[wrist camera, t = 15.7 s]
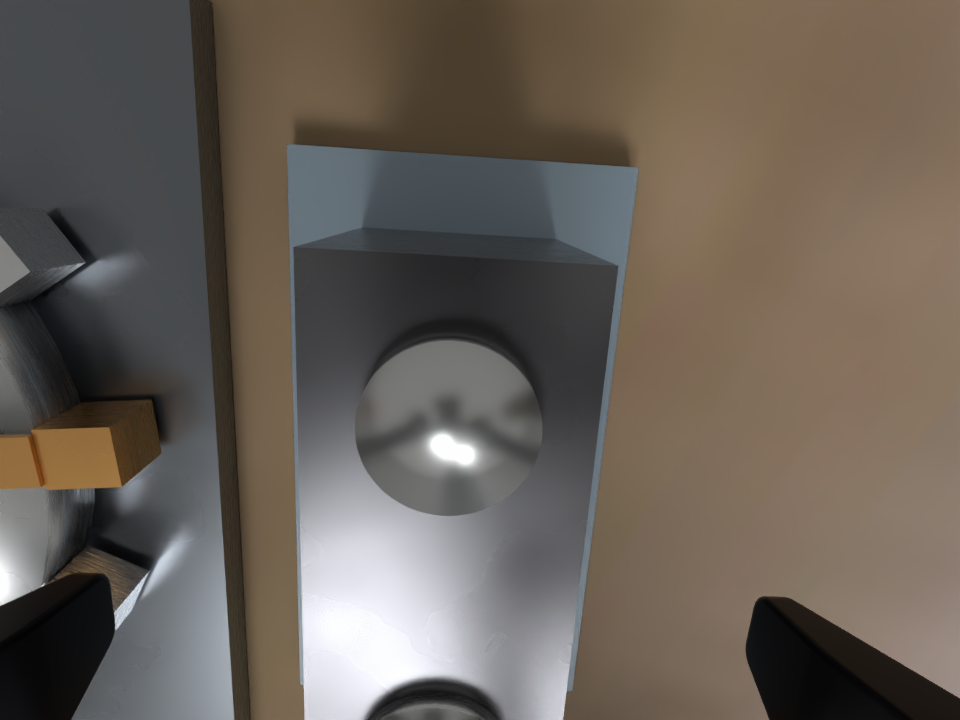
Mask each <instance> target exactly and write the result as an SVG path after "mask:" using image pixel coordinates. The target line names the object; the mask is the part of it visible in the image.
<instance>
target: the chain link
mask: <svg viewBox="0 0 960 720" xmlns="http://www.w3.org/2000/svg"><path fill="white" fill-rule="evenodd" d="M293 255H294V296H295V337H296V379H297V420H298V461H299V503H300V544H301V585H302V627H303V668H304V709H305V720H563V716H564V708H565V699H566V691H567V683H568V675H569V667H570V659H571V650H572V642H573V634H574V626H575V618H576V609H577V601H578V593H579V585H580V577H581V569H582V560H583V552H584V544H585V536H586V528H587V520H588V511H589V503H590V495H591V487H592V479H593V470H594V462H595V454H596V446H597V438H598V430H599V421H600V413H601V405H602V397H603V389H604V381H605V372H606V364H607V356H608V348H609V340H610V331H611V323H612V315H613V307H614V299H615V291H616V282H617V274H618V265H615V264H613V263H611V262H608V261H606V260H604V259H601V258H599V257H597V256H595V255H592V254H590V253H588V252H585V251H583V250H581V249H578V248H576V247H574V246H571V245H569V244H567V243H564V242H562V241H560V240H557V239H548V238H531V237H514V236H498V235H481V234H464V233H447V232H431V231H414V230H397V229H381V228H364V227H361V228H358V229H354V230H351V231H347V232H344V233H340V234H337V235H333V236H330V237H326V238H323V239H319V240H316V241H312V242H309V243H305V244H302V245H298V246H295V247H293Z"/></svg>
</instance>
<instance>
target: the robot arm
mask: <svg viewBox="0 0 960 720" xmlns="http://www.w3.org/2000/svg"><path fill="white" fill-rule="evenodd" d="M114 633H115V615H114V607H113V599H112V591H111V584H110V580H109V578H108V577H107V576H106V575H105V574H103V573H86V572H75V573H71V574H68V575H66V576H64V577H62V578H60V579H58V580H55V581H53V582H51V583H49V584H47V585H45V586H42V587H40V588H38V589H36V590H34V591H31V592H29V593H27V594H25V595H23V596H21V597H18V598H16V599H14V600H12V601H10V602H8V603H5V604H3V605H1V606H0V720H72V718H73V716H74V714H75V712H76V710H77V708H78V706H79V705H80V703H81V701H82V699H83V697H84V695H85V693H86V691H87V689H88V687H89V685H90V683H91V682H92V680H93V678H94V676H95V674H96V672H97V670H98V668H99V666H100V664H101V662H102V660H103V659H104V657H105V655H106V653H107V651H108V649H109V647H110V645H111V643H112V640H113V637H114ZM746 657H747V661H748V664H749V667H750V670H751V672H752V675H753V678H754V680H755V683H756V686H757V688H758V691H759V694H760V696H761V699H762V701H763V704H764V707H765V709H766V712H767V715H768V717H769V720H960V698H958V697H957V696H955V695H953V694H951V693H950V692H948V691H946V690H945V689H943V688H941V687H940V686H938V685H936V684H935V683H933V682H931V681H929V680H928V679H926V678H924V677H923V676H921V675H919V674H918V673H916V672H914V671H913V670H911V669H909V668H907V667H906V666H904V665H902V664H901V663H899V662H897V661H896V660H894V659H892V658H891V657H889V656H887V655H885V654H884V653H882V652H880V651H879V650H877V649H875V648H874V647H872V646H870V645H869V644H867V643H865V642H863V641H862V640H860V639H858V638H857V637H855V636H853V635H852V634H850V633H848V632H847V631H845V630H843V629H841V628H840V627H838V626H836V625H835V624H833V623H831V622H830V621H828V620H826V619H825V618H823V617H821V616H819V615H818V614H816V613H814V612H813V611H811V610H809V609H808V608H806V607H804V606H803V605H801V604H799V603H797V602H796V601H794V600H792V599H790V598H787V597H768V596H763V597H760V598H759V599H757V601H756V602H755V605H754V609H753V614H752V618H751V623H750V627H749V632H748V636H747V641H746Z"/></svg>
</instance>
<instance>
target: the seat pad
mask: <svg viewBox="0 0 960 720" xmlns="http://www.w3.org/2000/svg"><path fill="white" fill-rule="evenodd" d="M287 170H288V211H289V251H290V292H291V332H292V373H293V414H294V454H295V495H296V535H297V576H298V616H299V657H300V685H304V668H303V627H302V585H301V544H300V503H299V461H298V420H297V379H296V337H295V296H294V255H293V247H295V246H298V245H302V244H305V243H309V242H312V241H316V240H319V239H323V238H326V237H330V236H333V235H337V234H340V233H344V232H347V231H351V230H354V229H358V228H361V227H364V228H381V229H397V230H414V231H431V232H447V233H464V234H481V235H498V236H514V237H531V238H548V239H557V240H560V241H562V242H564V243H567V244H569V245H571V246H574V247H576V248H578V249H581V250H583V251H585V252H588V253H590V254H592V255H595V256H597V257H599V258H601V259H604V260H606V261H608V262H611V263H613V264H615V265H618V274H617V282H616V291H615V299H614V307H613V315H612V323H611V331H610V340H609V348H608V356H607V364H606V372H605V381H604V389H603V397H602V405H601V413H600V421H599V430H598V438H597V446H596V454H595V462H594V470H593V479H592V487H591V495H590V503H589V511H588V520H587V528H586V536H585V544H584V552H583V560H582V569H581V577H580V585H579V593H578V601H577V609H576V618H575V626H574V634H573V642H572V650H571V659H570V667H569V675H568V683H567V691H566V692H572V689H573V681H574V673H575V666H576V658H577V650H578V642H579V634H580V626H581V618H582V611H583V603H584V595H585V587H586V579H587V571H588V563H589V555H590V548H591V540H592V532H593V524H594V516H595V508H596V500H597V493H598V485H599V477H600V469H601V461H602V453H603V445H604V437H605V430H606V422H607V414H608V406H609V398H610V390H611V382H612V375H613V367H614V359H615V351H616V343H617V335H618V327H619V319H620V312H621V304H622V296H623V288H624V280H625V272H626V264H627V257H628V249H629V241H630V233H631V225H632V217H633V209H634V201H635V194H636V186H637V178H638V170H639V168H637V167H622V166H607V165H593V164H578V163H563V162H548V161H533V160H518V159H503V158H488V157H473V156H458V155H443V154H428V153H414V152H399V151H384V150H369V149H354V148H339V147H324V146H309V145H294V144H287Z"/></svg>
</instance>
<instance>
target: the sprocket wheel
mask: <svg viewBox="0 0 960 720" xmlns="http://www.w3.org/2000/svg"><path fill="white" fill-rule="evenodd" d="M84 263H86V262H85V261H84V259H83V258H82V257H81V256H80V254H79V253H78V252H77V251H76V249H75V248H74V247H73V246H72V244H71V243H70V242H69V241H68V239H67V238H66V237H65V236H64V234H63V233H62V232H61V231H60V229H59V228H58V227H57V226H56V225H55V223H54V222H53V221H52V220H51V218H50V217H49V216H48V215H47V213H46V212H45V211H44V210H43V208H4V209H0V606H1V605H3V604H5V603H8V602H10V601H12V600H14V599H16V598H18V597H21V596H23V595H25V594H27V593H29V592H31V591H34V590H36V589H38V588H40V587H42V586H45V585H47V584H49V583H51V582H53V581H55V580H58V579H60V578H62V577H64V576H66V575H68V574H71V573H75V572H86V573H103V574H105V575H106V576H107V577H108V578H109V580H110V584H111V591H112V599H113V607H114V615H115V631H116V629H117V628H118V627H119V626H120V624H121V623H122V622H123V621H124V619H125V618H126V617H127V616H128V614H129V613H130V612H131V610H132V608H133V606H134V604H135V602H136V599H137V597H138V595H139V593H140V591H141V588H142V586H143V584H144V582H145V580H146V577H147V575H148V573H149V570H146V569H144V568H142V567H139V566H137V565H134V564H132V563H129V562H127V561H125V560H122V559H120V558H117V557H115V556H112V555H110V554H108V553H105V552H103V551H100V550H98V549H95V548H93V547H91V546H87V547H86V545H87V542H88V539H89V536H90V529H91V523H92V516H93V510H94V503H95V488H112V487H123V486H124V485H125V484H126V483H127V482H129V481H130V480H131V479H132V478H133V477H134V476H136V475H137V474H138V473H139V472H140V471H142V470H143V469H144V468H145V467H146V466H147V465H149V464H150V463H151V462H152V461H153V460H155V459H156V458H157V457H158V456H159V455H160V454H162V452H161V446H160V441H159V436H158V431H157V425H156V420H155V415H154V409H153V404H152V400H130V401H102V402H82V403H81V401H80V397H79V394H78V391H77V388H76V386H75V384H74V381H73V379H72V377H71V375H70V372H69V370H68V368H67V365H66V363H65V361H64V359H63V356H62V354H61V352H60V350H59V348H58V347H57V345H56V343H55V342H54V340H53V338H52V336H51V335H50V333H49V331H48V330H47V328H46V326H45V325H44V323H43V321H42V320H41V318H40V316H39V314H38V313H37V311H36V310H35V309H34V307H33V306H32V305H31V303H30V302H29V301H30V300H32V299H33V298H35V297H36V296H38V295H39V294H41V293H42V292H44V291H45V290H46V289H48V288H49V287H51V286H52V285H54V284H55V283H57V282H58V281H60V280H61V279H63V278H64V277H65V276H67V275H68V274H70V273H71V272H73V271H74V270H76V269H77V268H79V267H80V266H81V265H83V264H84Z"/></svg>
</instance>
